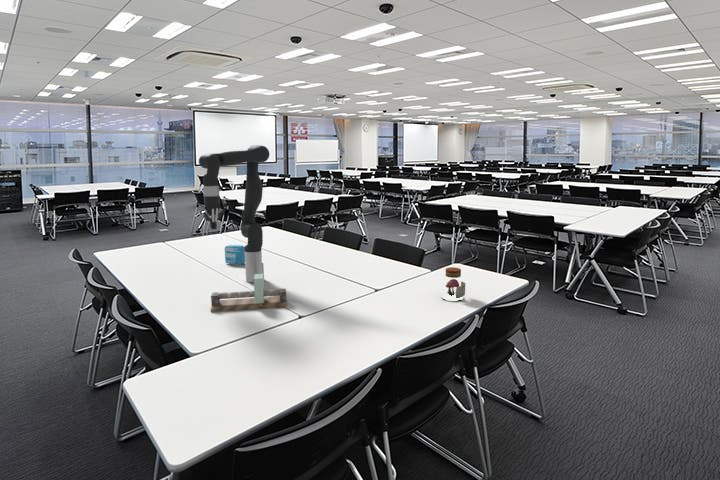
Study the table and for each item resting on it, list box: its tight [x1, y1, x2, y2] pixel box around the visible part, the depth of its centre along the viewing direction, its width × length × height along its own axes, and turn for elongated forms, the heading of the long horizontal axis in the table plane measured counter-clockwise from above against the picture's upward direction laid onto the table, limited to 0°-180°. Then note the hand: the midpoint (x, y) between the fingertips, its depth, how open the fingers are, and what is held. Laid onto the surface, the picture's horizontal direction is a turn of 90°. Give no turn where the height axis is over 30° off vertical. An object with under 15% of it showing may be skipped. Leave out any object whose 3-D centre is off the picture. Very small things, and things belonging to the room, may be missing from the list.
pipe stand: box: [210, 288, 288, 313], centre depth 210 cm, size 34×12×7 cm, turn 100°
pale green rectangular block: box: [253, 274, 265, 304], centre depth 210 cm, size 4×8×12 cm, turn 10°
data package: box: [224, 244, 245, 265], centre depth 289 cm, size 12×4×12 cm, turn 75°
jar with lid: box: [445, 266, 466, 298], centre depth 218 cm, size 12×13×15 cm
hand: (213, 229), depth 225 cm, fingers closed
